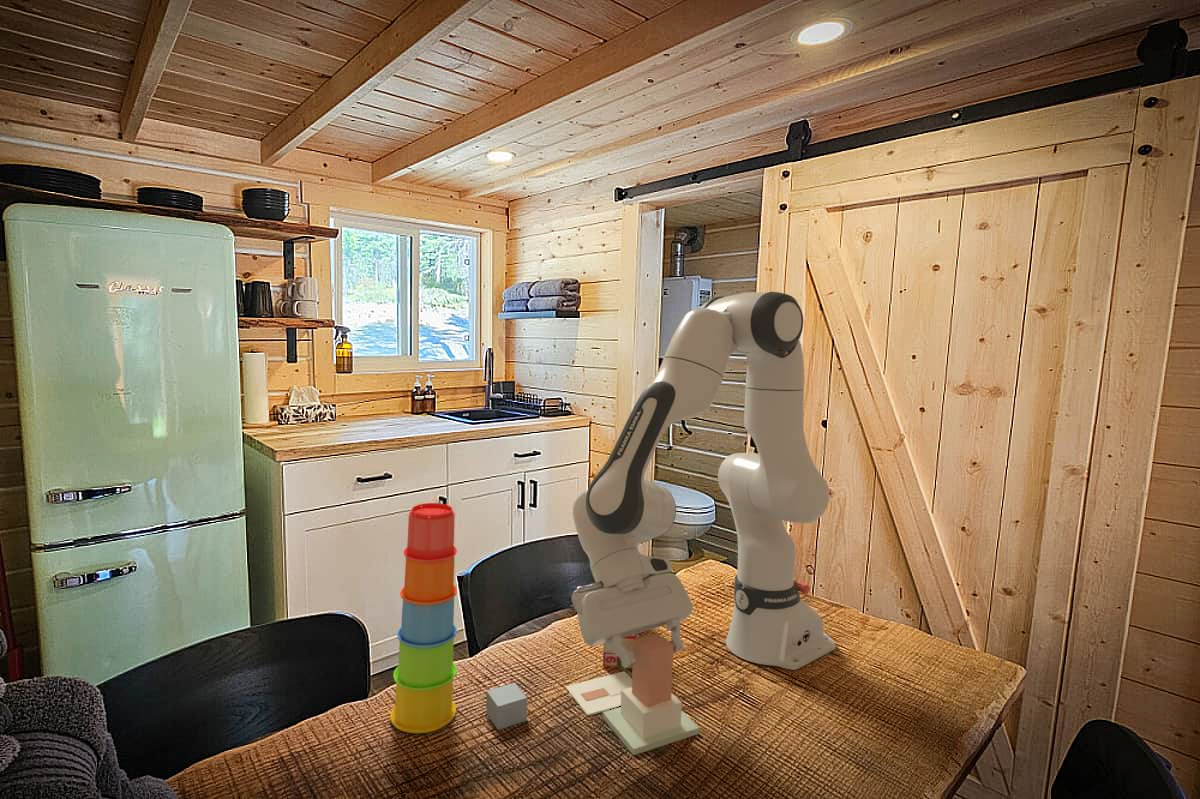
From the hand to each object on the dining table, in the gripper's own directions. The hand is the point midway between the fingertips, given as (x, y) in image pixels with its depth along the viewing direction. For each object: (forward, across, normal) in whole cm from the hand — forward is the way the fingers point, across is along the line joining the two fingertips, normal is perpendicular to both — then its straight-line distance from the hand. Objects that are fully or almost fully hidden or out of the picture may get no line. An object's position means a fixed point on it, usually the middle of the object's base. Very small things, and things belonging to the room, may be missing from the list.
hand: (655, 657), depth 97 cm
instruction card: (0, -1, +17) cm, 17 cm away
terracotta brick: (+4, 0, +5) cm, 7 cm away
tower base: (+8, 0, +9) cm, 12 cm away
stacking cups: (-7, -30, +24) cm, 39 cm away
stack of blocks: (-10, +12, +27) cm, 31 cm away
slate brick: (-2, -19, +18) cm, 27 cm away
